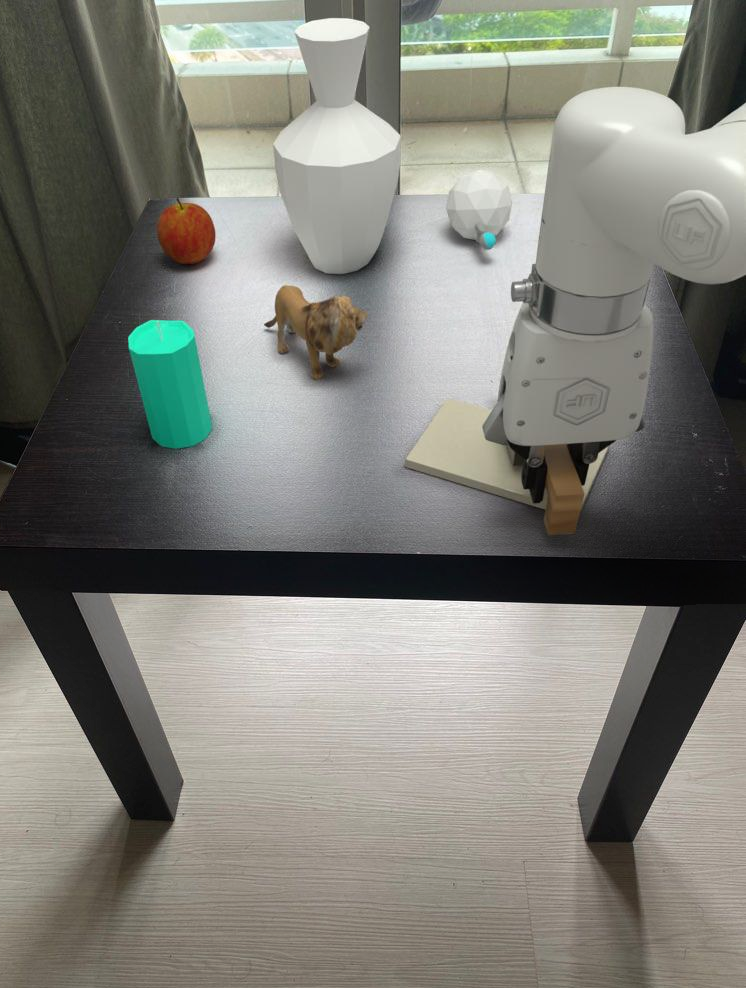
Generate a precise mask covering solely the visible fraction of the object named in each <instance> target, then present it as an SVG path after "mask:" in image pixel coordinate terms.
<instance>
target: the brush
mask: <svg viewBox="0 0 746 988" xmlns="http://www.w3.org/2000/svg"><path fill="white" fill-rule="evenodd" d="M521 422H522V421H521ZM519 423H520V422H519ZM567 445H568V444H556V445H546V449H545V454H544V455H545V460H546V463H547V466H548V468H547V476H546V482H545V487H546V491H547V494H548V499H547V505H546V510H545V511H544V515H543V516H544V517H543V523H544V527H545V529H546V533H547V535H548V536H558V535H572V534H573V535H574V534H576V530H577V524H578V522H579V516H580V514H581V512H580V510H581V507H582V502H583V498H584V494H585V493H584V491H583V488H582V485H581V482H580V480H579V477H578V474H577V472H576V469H575V466H574V464H573V461H572V458H571V456H570V453H569V450H568V447H567ZM507 447H508V450H509V454H510V457H511V461H512V464H513V466H520V465H523V461H524V458H522V457H521V456H520V455H519V454H517V453H516V452H515V451H513V450H512V449H511V448H510V446H508V445H507ZM581 511H582V510H581ZM579 513H580V514H579Z"/></svg>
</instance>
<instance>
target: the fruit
mask: <svg viewBox="0 0 746 988" xmlns="http://www.w3.org/2000/svg"><path fill="white" fill-rule="evenodd" d="M176 202H177V203H176V204H172V205H170V206H168V207H167V208H165V209H164V210H163V211H162V212H161V214H160V216H159V218H158V221H157V228H156V231H157V232H156V233H157V240H158V243H159V246H160V248H161V249H162V251H163V252H164V254H166V255H167V257H169V258H170V259H172V260H173V261H174V262H176V263H178V264H182V265H193V264H194V265H195V264H198V263H200V262H201V261H203V260H204V259H205V258H206V257H208V255H210V253H211V252H212V250H213V249H214V246H215V243H216V227H215V224H214V222H213V221H214V220H213V219H212V217H211V215H210V214H209V212H208V211H207V210H206V209H205V208H204V207H202V206H201V205H199V204H197V203H193V202H192V203H191V202H181V200H180V198H179V197H177V198H176Z"/></svg>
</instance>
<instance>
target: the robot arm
mask: <svg viewBox="0 0 746 988" xmlns="http://www.w3.org/2000/svg"><path fill="white" fill-rule="evenodd" d="M547 165H548V166H547V173H546V181H545V187H544V196H543V202H542V203H543V204H542V211H541V219H540V226H539V234H538V240H537V241H538V242H537V248H536V249H537V251H536V256H535V257H536V258H535V263H532V264H531V271H530V272H531V273H529V274H528V277H527V278H523V279H522V280H519V281H518V280H517V281H512V282H511V284H510V285H511V286H510V298H511V302H512V303H518V302H520V303H521V302H522V303H521V306H520V308H519V310H518V313H517V316H516V318H515V320H514V324H513V327H512V329H511V332H510V337H509V339H508V344H507V346H506V350H505V354H504V359H503V364H502V367H501V368H502V369H501V374H500V379H499V385H498V394H497V402H496V404H495V405H494V407H493V408H492V409H491V410H492V412H491V413H490V415H489V416H488V418H487V419H486V421H485V422H484V424H483V426H482V429H483V432H484V436H485V439H486V440H488V441H491V442H494V443H497V444H501V445H508V446H510V448H511V449H512V450H513V451H515V452H516V453H517V454H519V455H520V456H521V457H522V458H524V461H523V468H522V475H521V481H522V485H523V489H524V490H525V489H529V491H530V494H531V498H532V501H533V504H537V503H540V502H542V501H543V496H544V490H545V482H546V476H547V468H548V466H547V463H546V460H545V455H544V454H545V449H546V445H556V444H568V445H567V447H568V450H569V453H570V456H571V458H572V461H573V464H574V466H575V469H576V472H577V474H578V477H579V480H580V482H581V485H582V486H584V485H585V482H586V478H587V473H588V469H589V464H591V463H594V462H595V461H596V460H597V458H598V453H600V452H601V451H602V450H604V449H605V448H607V447H608V446H609V445H610V446H611V445H613V444H614V443H616V441H617V440H623V439H625V438H629V437H630V436H632V435H634V434H635V433H637V432H640V431H642V430H643V429H644V428H645V426H646V425H645V424H646V422H645V419H644V417H643V414H644V411H645V410H644V409H645V404H646V399H647V393H648V387H649V382H650V381H649V380H650V374H651V366H652V354H653V345H654V316H653V313H652V311H651V310H650V309H649V308H648V306H647V305H646V303H645V302H646V299H647V294H648V290H649V286H650V282H651V278H652V273H653V270H654V265H656V266H657V267H659V268H661V269H662V270H664V271H666V272H668V273H670V274H671V275H674V276H676V277H678V278H681V279H683V280H686V281H689V282H692V283H696V284H701V285H702V284H703V285H720V284H726V283H730V282H733V281H735V280H738V279H740V278H742V277H744V276H746V102H745V103H743V104H742V105H741V106H739V107H738V108H737V109H735V110H734V111H732V112H731V113H730V114H728V115H727V116H725V117H723V118H722V119H721V120H720V121H719V122H717V123H716V124H715V125H713V126H712V127H710V128H707V129H703V130H701V131H696V132H692V133H688V134H686V120H685V116H684V113H683V111H682V109H681V107H680V106H679V105H678V104H677V103H676V102H675V101H674V100H673V99H672V98H670V97H668V96H666V95H664V94H662V93H660V92H656V91H653V90H649V89H645V88H640V87H633V86H607V87H606V86H605V87H599V88H593V89H589V90H586V91H583V92H580V93H578V94H576V95H575V96H573V97H572V98H570V99H569V100H568V101H566V103H565V104H564V105H563V106H562V107H561V109H560V111H559V112H558V114H557V117H556V119H555V121H554V125H553V131H552V136H551V142H550V151H549V157H548V163H547ZM521 421H522V422H521ZM519 422H520V423H519Z"/></svg>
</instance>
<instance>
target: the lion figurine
mask: <svg viewBox="0 0 746 988" xmlns="http://www.w3.org/2000/svg"><path fill="white" fill-rule="evenodd" d="M274 313H275V316H274V317H273V318H272V319H271V320H268V321H267V322H265V323H263V326H264V327H266V328H267V329H270V328H272V327H274V326H275V325H276V324H277V352H278V353H280V354H285V353H287V352H289V350H290V349H289V346H288V344H287V342H286V337H285V336H286V334H285V329H286V330H287V331H288V333H291V334H293V333H295V334H296V335H297V336H298V337H299V338H300V339H301V340H302V341H305V344H306V349H307V353H308V359H309V364H310V376H311V378H312V379H313V380H320V379H322V378H323V377H324V373H323V369H322V366H321V364H320V353H324V354H325V363H326V365H328V366H329V367H331V368H337V367H339V365H340V364H341V362H340V359H339V358H338V357H334V354H336V353H338V352H339V351H341V350H342V349H343V348H346V347H348V346H349V347H350V345H351V344H353V343H354V341H355V339H356V337H357V335H358V332H361V331H362V330H363V326H364V325H365V324H366V322H367V317H368V313H367V312H366V311H364V310H361V309H358V308H357V307H356V306H355V304H352V300H351V297H349V296H345V295H339V296H336V295H334V296H333V297H332V296H331V297H330V298H327V299H324V300H321V301H318V302H314V301H313V302H311V303H310V302H309V301H308V300H307V299H306V298H305V297H304V294H303V292H302V290H301V288H299V287H298V286H294V285H286V284H283V285H282V286H281V287H280V288H279V289H278V290H277V293H276V294H275V300H274Z"/></svg>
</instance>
